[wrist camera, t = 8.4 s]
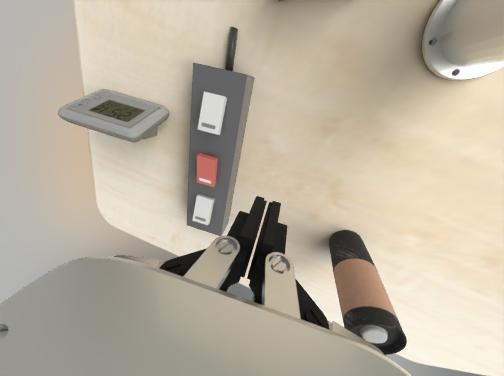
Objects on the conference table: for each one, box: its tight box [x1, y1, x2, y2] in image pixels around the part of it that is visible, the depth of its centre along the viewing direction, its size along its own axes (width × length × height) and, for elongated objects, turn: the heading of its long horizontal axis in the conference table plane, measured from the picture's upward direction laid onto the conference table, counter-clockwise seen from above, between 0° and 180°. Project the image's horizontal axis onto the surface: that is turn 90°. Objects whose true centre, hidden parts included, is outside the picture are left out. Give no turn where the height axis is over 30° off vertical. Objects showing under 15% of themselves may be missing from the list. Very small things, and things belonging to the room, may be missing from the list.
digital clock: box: [58, 89, 169, 142], centre depth 36 cm, size 16×9×11 cm, turn 65°
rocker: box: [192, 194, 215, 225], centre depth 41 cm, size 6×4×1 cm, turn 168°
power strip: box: [187, 27, 254, 236], centre depth 38 cm, size 40×9×5 cm, turn 168°
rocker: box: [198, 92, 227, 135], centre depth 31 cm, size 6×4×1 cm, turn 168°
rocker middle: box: [197, 153, 218, 187], centre depth 36 cm, size 6×4×1 cm, turn 168°
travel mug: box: [329, 230, 407, 355], centre depth 35 cm, size 8×8×20 cm
